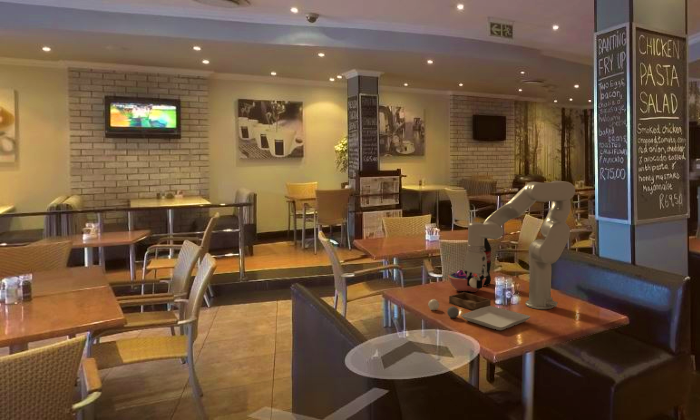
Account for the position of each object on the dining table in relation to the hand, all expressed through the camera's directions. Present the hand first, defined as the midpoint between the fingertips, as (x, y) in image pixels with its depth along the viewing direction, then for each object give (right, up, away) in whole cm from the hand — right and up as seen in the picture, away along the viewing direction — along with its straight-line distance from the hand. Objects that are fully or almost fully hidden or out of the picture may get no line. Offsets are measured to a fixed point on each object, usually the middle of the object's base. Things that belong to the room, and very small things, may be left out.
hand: (474, 286), depth 230 cm
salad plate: (+4, -13, -20) cm, 24 cm away
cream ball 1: (-20, -11, -3) cm, 23 cm away
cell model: (+3, -7, +28) cm, 29 cm away
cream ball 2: (0, -1, 0) cm, 1 cm away
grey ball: (-13, -12, -14) cm, 23 cm away
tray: (-1, -10, +4) cm, 10 cm away
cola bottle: (+15, -5, +41) cm, 44 cm away
